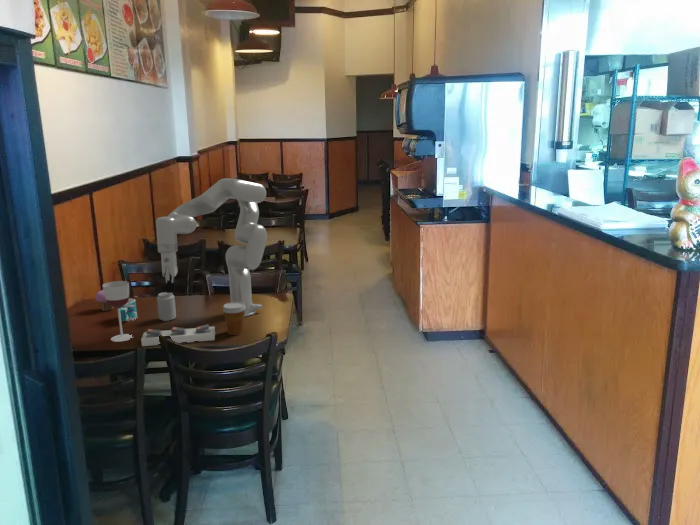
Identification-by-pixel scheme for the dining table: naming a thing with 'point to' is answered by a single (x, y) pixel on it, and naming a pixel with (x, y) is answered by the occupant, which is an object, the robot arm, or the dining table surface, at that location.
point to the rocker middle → (178, 330)
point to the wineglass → (117, 302)
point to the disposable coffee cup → (234, 317)
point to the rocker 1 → (153, 332)
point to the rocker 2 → (202, 328)
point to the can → (166, 306)
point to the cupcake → (103, 301)
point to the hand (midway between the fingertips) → (170, 291)
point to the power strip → (180, 336)
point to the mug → (128, 311)
